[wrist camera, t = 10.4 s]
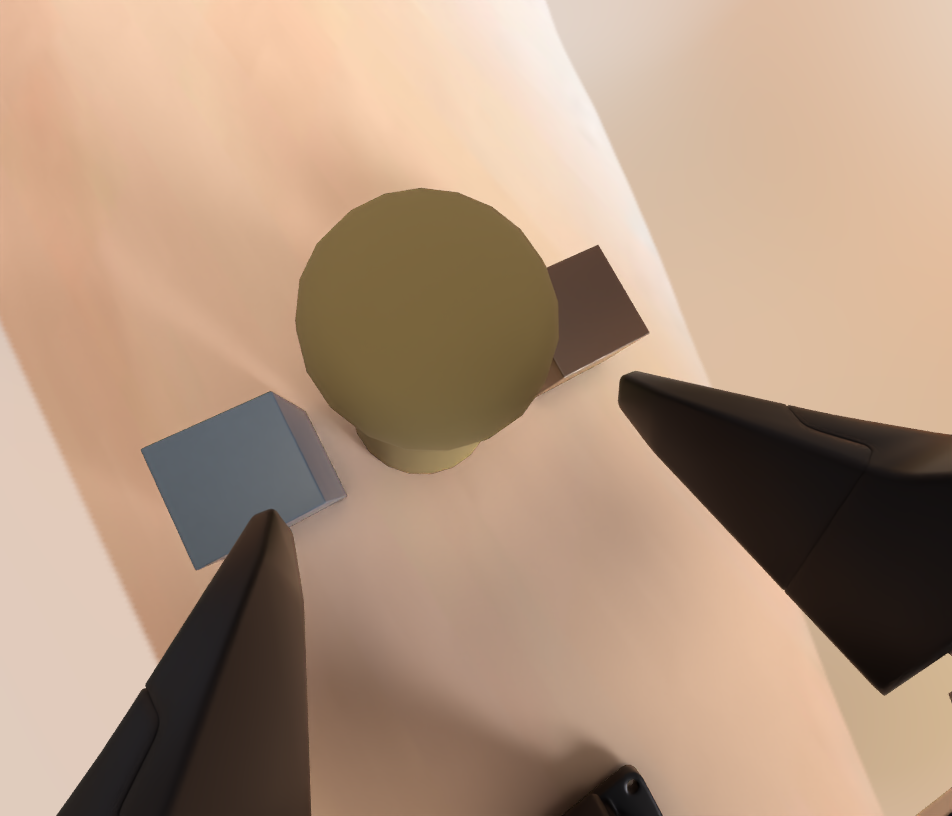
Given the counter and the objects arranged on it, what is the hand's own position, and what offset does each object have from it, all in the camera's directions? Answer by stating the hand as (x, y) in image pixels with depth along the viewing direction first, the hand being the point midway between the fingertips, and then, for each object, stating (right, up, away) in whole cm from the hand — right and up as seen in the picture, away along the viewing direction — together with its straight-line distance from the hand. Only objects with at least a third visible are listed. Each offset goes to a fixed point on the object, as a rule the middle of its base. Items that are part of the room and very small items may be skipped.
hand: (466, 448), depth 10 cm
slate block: (-8, -2, +6) cm, 10 cm away
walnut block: (+4, +4, +9) cm, 10 cm away
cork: (-2, +1, +8) cm, 8 cm away
